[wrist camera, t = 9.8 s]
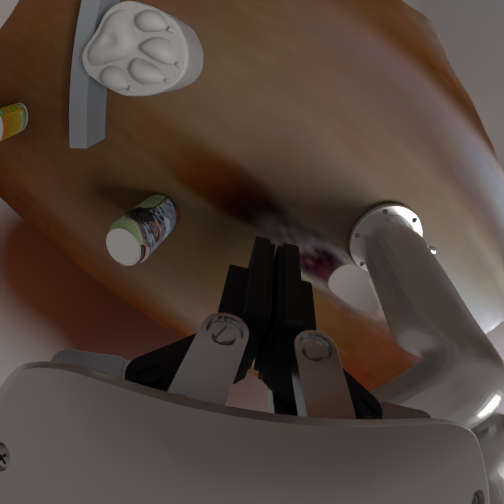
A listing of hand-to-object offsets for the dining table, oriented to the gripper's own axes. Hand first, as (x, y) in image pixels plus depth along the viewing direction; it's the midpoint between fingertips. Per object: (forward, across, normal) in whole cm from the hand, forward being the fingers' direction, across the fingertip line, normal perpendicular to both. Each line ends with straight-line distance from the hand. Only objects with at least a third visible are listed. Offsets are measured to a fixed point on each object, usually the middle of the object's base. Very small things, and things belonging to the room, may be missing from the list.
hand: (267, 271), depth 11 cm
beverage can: (+27, +14, +13) cm, 34 cm away
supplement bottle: (+26, +43, 0) cm, 50 cm away
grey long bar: (+26, +26, -8) cm, 38 cm away
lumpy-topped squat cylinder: (+27, +17, -9) cm, 33 cm away
